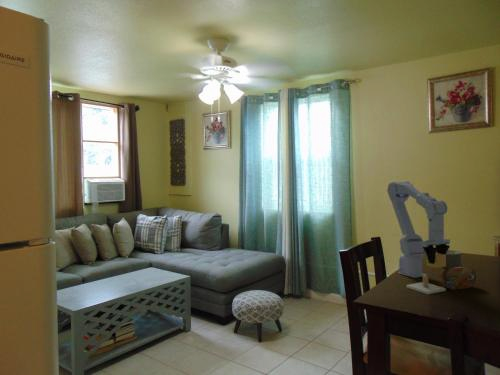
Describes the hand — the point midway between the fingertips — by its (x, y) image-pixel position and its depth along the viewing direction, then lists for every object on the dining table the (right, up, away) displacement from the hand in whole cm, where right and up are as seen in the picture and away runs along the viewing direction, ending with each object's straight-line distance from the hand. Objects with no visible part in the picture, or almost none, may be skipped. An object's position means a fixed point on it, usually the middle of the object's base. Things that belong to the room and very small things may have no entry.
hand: (436, 262), depth 152 cm
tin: (+6, -9, -5) cm, 12 cm away
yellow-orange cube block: (0, -1, 0) cm, 1 cm away
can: (+22, -8, +31) cm, 39 cm away
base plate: (-8, -9, -7) cm, 14 cm away
